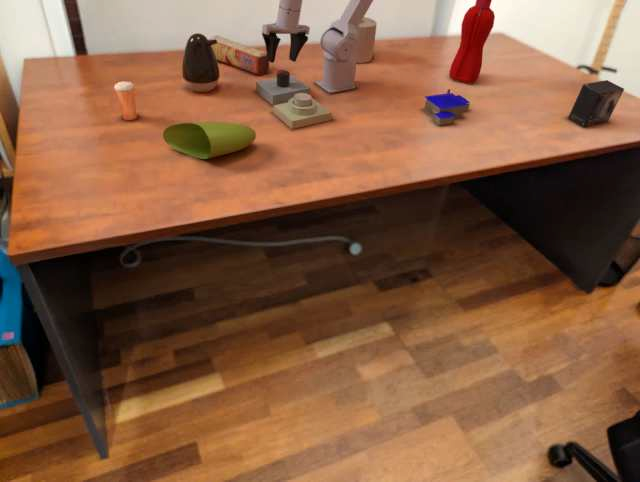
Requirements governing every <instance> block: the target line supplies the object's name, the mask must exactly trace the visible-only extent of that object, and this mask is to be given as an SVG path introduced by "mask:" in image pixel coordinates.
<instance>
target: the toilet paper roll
mask: <svg viewBox="0 0 640 482" xmlns="http://www.w3.org/2000/svg"><path fill="white" fill-rule="evenodd" d="M376 33H377V22H376V20H375V19H372V18H370V17H366V16H364V17H363V19H362V21H361V23H360V24H359V26H358V28H357V35H358V41H357V43H356V45H355V49H354V53H353V55H352V56H353V57H354V59H355V62H356V64H365V63H368V62H371V60H372V59H373V54H374V48H375V41H376ZM342 35H344V34H342Z"/></svg>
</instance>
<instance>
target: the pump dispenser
mask: <svg viewBox="0 0 640 482" xmlns="http://www.w3.org/2000/svg"><path fill="white" fill-rule="evenodd" d="M216 43H217V40H216V39H214V40H209V39H208V38H207V36H206V35H204V34H202V33H197V32H196V33H193V34H191V35H190V36H189V38H188V39H187V41H186V44H185V46H184V51H183V57H182V63H181V64H182V66H181V67H182V68H181V71H182V72H181V73H182V78H183V80H184V82H185V84H186V85H187V87H188V88H189V89H191V90H192V91H195V92H198V93H206V92H210V91H212V90H214V89H215V88H216V87H217V85H218V84H219V83H218V82H219V79H220V74H221V73H220V67H219V62H218V60H217V59H216V56H215V53H214V50H213V48H212V46H211V45H214V44H216Z"/></svg>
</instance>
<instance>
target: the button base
mask: <svg viewBox="0 0 640 482" xmlns="http://www.w3.org/2000/svg"><path fill="white" fill-rule="evenodd" d="M272 106H273V107H272V109H273V110H272V111H273V112H272V113H273V114H274V115H275V116H276V117H277V118H278V119H280V120H281V121H282V122H283V123H284V124H286V125H287V126H288V128H290V129H291V130H293V129H298V128H303V127H305V126H306V127H307V126H312V125H315V124H319V123H324V122H328V121H331V119H332V112H331V111H330V110H329V109H327V108H326V107H325V106H323V105H322V104H321V103H319V102H318V101H316V100H315V99H314V98H313V97H312V100H311V106H308V107H299V106H296V105H294V97H293V98H291V99H290V100H288V103H283V104H278V105H272Z"/></svg>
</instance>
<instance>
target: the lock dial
mask: <svg viewBox="0 0 640 482" xmlns="http://www.w3.org/2000/svg"><path fill="white" fill-rule="evenodd" d="M290 76H291V74H290V71H288V70H284V69H280V70H278V71H276V78H277V86H279V87H288V86H289V81H290Z"/></svg>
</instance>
